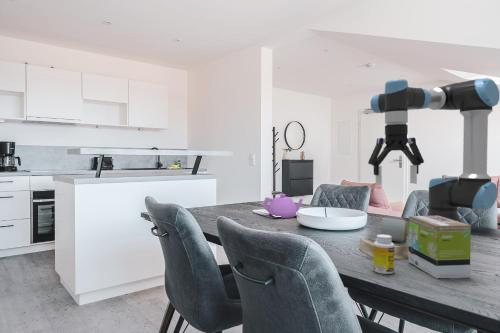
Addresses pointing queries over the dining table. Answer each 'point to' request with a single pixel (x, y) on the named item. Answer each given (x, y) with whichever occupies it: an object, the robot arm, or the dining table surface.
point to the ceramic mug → (395, 229)
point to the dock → (399, 248)
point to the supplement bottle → (383, 255)
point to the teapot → (282, 206)
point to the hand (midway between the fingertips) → (396, 184)
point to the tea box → (440, 246)
